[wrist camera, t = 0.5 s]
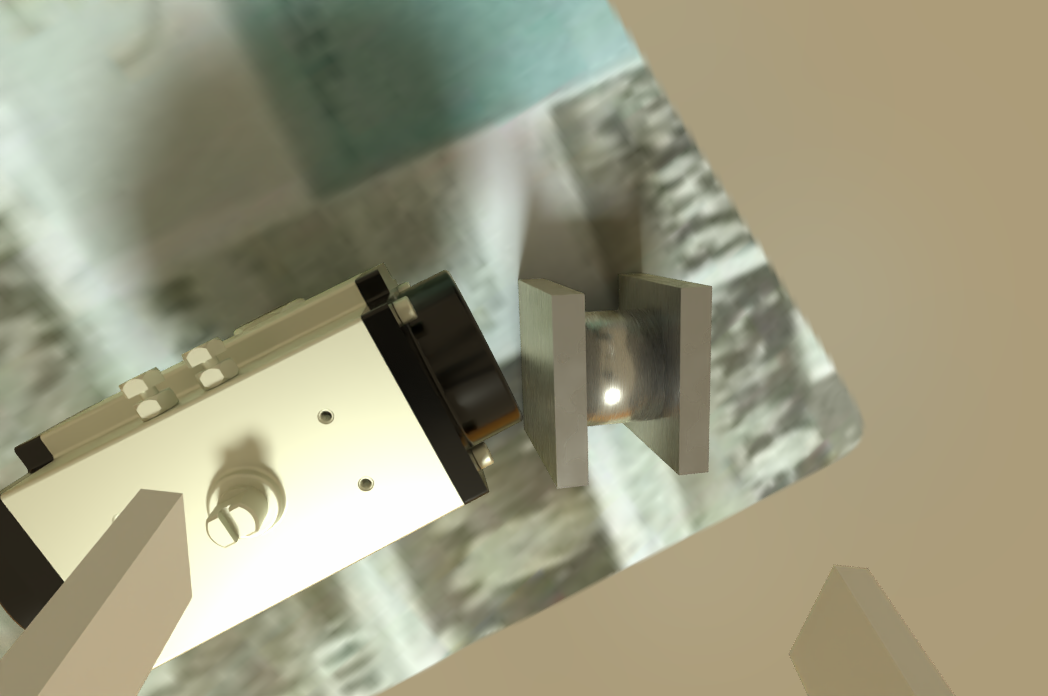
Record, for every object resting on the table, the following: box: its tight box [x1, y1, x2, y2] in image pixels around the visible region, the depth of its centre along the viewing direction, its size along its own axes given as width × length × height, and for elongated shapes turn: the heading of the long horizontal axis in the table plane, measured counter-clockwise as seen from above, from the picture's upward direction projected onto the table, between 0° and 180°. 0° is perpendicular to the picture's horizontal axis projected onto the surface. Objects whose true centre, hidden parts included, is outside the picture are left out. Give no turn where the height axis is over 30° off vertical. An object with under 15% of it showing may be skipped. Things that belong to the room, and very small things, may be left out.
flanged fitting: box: [518, 273, 712, 488], centre depth 33 cm, size 9×8×9 cm
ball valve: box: [0, 262, 523, 670], centre depth 26 cm, size 18×8×18 cm, turn 116°
